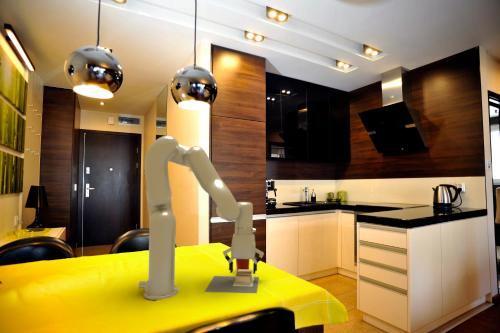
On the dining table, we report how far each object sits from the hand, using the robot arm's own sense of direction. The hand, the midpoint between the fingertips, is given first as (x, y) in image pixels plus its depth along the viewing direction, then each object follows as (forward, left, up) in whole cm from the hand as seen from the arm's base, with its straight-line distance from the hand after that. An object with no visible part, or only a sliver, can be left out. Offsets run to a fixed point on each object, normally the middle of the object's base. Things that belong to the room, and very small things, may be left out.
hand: (242, 272), depth 115 cm
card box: (0, 0, -4) cm, 4 cm away
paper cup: (-2, +13, -4) cm, 14 cm away
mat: (-4, -3, -4) cm, 6 cm away
